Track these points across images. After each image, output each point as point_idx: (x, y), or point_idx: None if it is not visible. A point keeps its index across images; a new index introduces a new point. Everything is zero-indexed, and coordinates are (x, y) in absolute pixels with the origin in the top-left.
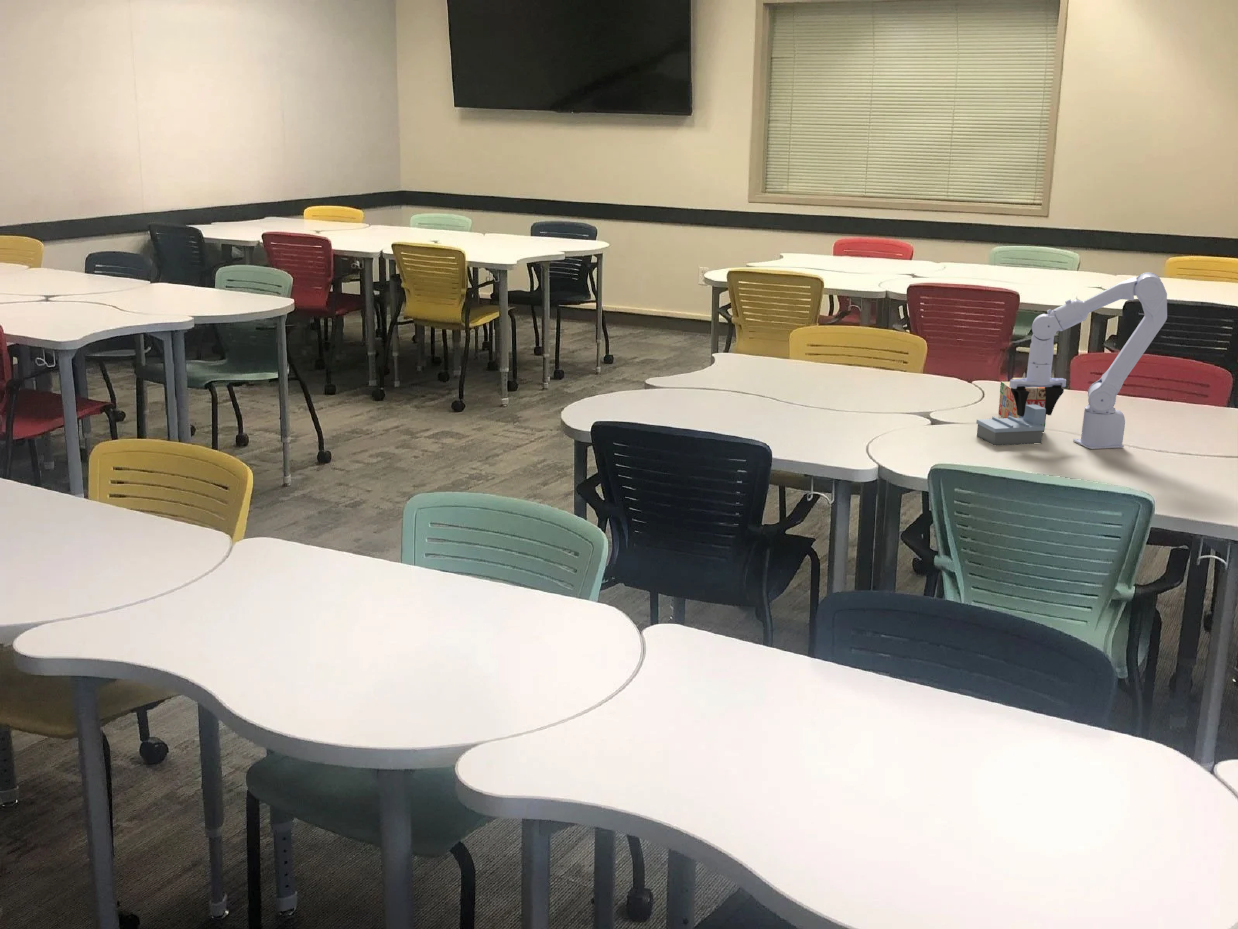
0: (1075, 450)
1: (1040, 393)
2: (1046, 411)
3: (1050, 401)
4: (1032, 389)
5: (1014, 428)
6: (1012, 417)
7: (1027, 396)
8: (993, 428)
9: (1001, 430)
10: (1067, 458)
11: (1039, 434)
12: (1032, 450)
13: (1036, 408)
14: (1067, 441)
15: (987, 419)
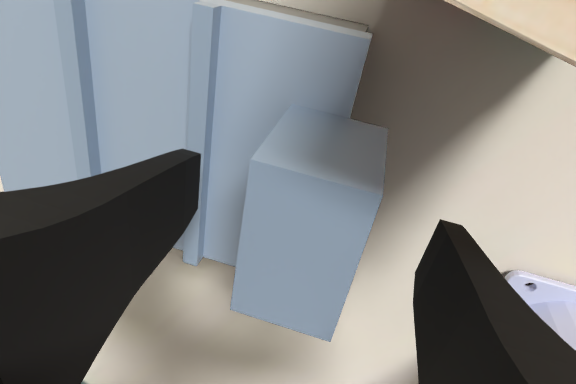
0: (376, 342)
1: None
2: (432, 255)
3: (432, 371)
4: (573, 62)
5: None
6: (199, 69)
7: (79, 377)
8: (4, 177)
9: None
10: (262, 373)
11: None
12: (205, 266)
13: (258, 300)
14: (489, 249)
15: None
